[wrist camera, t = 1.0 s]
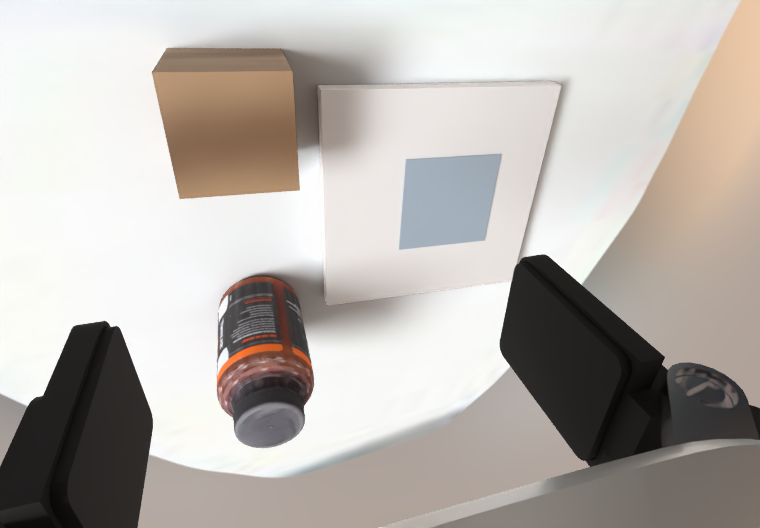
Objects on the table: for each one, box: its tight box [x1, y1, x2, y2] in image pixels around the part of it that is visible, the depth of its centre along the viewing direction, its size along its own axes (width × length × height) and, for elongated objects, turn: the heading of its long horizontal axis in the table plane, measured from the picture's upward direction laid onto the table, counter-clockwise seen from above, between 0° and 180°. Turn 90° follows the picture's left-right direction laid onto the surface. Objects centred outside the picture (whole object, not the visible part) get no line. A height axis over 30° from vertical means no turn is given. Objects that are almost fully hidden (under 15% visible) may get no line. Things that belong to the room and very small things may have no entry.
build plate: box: [318, 81, 562, 306], centre depth 33 cm, size 16×16×1 cm
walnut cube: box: [152, 48, 300, 199], centre depth 25 cm, size 6×6×6 cm
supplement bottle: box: [217, 276, 314, 448], centre depth 31 cm, size 6×6×11 cm
